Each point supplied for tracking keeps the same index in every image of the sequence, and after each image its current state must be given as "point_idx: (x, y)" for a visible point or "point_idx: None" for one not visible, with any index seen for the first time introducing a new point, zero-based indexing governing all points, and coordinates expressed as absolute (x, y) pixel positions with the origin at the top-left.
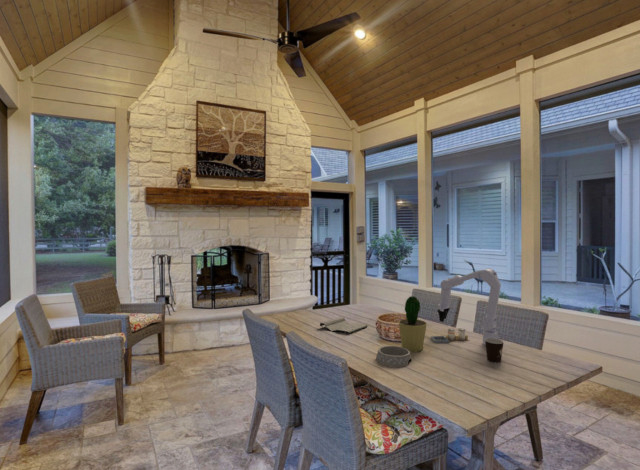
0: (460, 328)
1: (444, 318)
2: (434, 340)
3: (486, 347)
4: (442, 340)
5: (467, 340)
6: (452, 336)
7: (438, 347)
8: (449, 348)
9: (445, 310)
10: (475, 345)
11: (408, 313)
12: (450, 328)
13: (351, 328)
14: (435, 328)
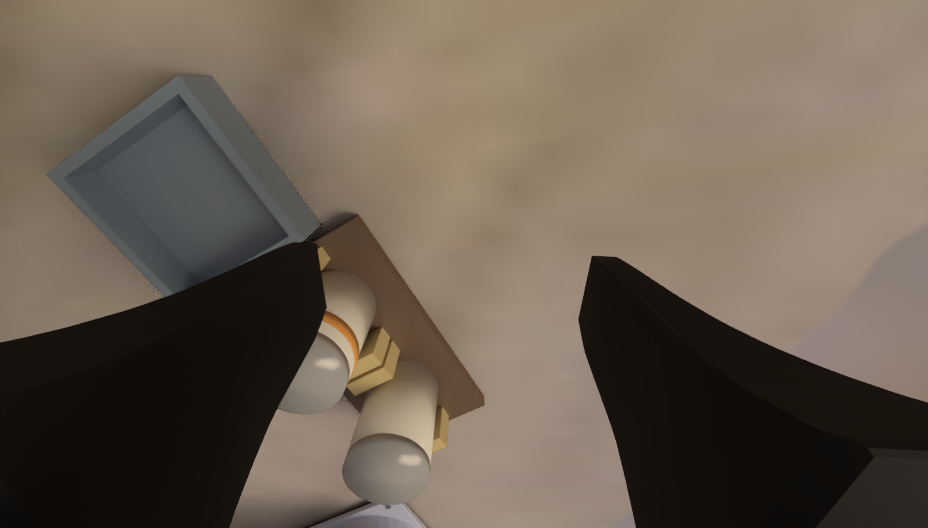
0: (414, 460)
1: (582, 304)
2: (82, 154)
3: None
4: (123, 250)
5: None
6: None
7: (14, 214)
8: (77, 312)
9: (667, 498)
10: (322, 471)
11: None
12: (336, 362)
13: None
14: (850, 24)
